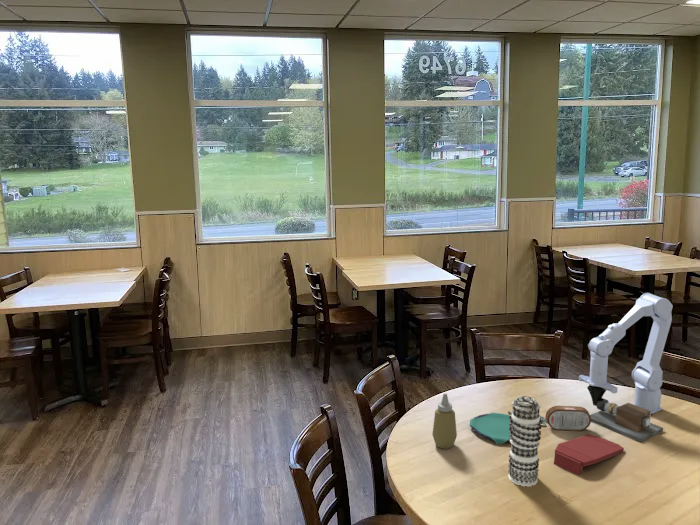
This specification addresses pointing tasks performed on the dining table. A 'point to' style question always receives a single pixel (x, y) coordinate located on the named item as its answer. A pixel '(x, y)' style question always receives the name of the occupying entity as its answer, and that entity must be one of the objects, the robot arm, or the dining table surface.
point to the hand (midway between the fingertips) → (596, 404)
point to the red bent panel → (584, 452)
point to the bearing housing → (627, 422)
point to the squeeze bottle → (444, 424)
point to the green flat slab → (494, 426)
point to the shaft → (612, 407)
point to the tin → (568, 418)
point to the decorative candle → (524, 441)
